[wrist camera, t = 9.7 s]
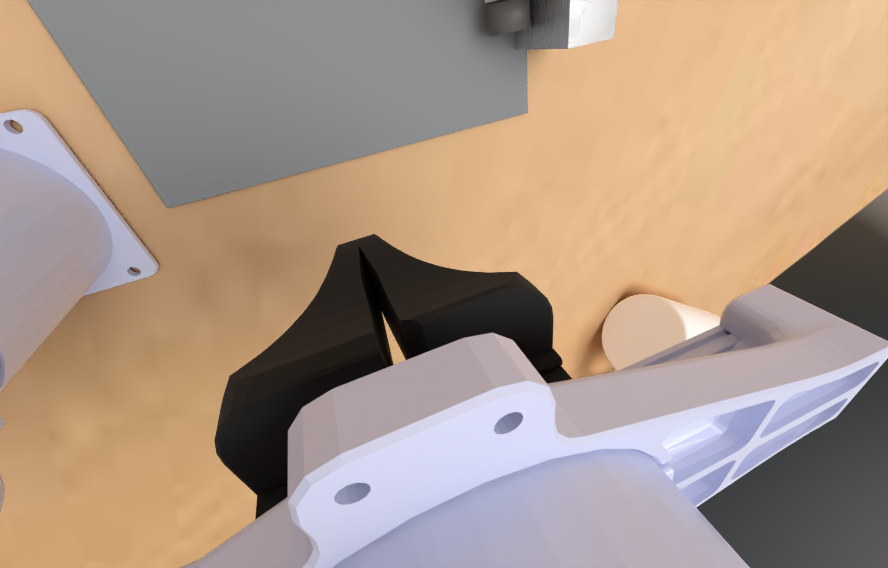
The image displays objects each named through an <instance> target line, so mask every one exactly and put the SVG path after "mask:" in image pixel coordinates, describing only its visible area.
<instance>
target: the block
mask: <svg viewBox="0 0 888 568" xmlns="http://www.w3.org/2000/svg"><path fill="white" fill-rule="evenodd" d="M493 1H497V0H485V3H489V2H493ZM487 16H488V28H489V36H496V35H502V34H507V33H512V32H516V31H520V30H524V29H528V28H530V27H531V20H530V0H508V1H503V2H499V3H495V4H491V5H487Z"/></svg>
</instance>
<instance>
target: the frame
mask: <svg viewBox="0 0 888 568" xmlns="http://www.w3.org/2000/svg"><path fill="white" fill-rule="evenodd" d="M617 4H618V0H530V20H531V27H530V28H528V29H524V30H520V31H516V32H515V50H520V49H569V48H573V47H577V46H582V45H586V44H590V43H595V42H599V41H603V40H608V39H612V38H614V33H615V23H616V14H617Z"/></svg>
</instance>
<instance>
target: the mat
mask: <svg viewBox="0 0 888 568" xmlns="http://www.w3.org/2000/svg"><path fill="white" fill-rule="evenodd" d="M27 1H28V2H29V4H30V5H31V7H32V8H33V10H34V11H35V13H36V14H37V16H38V17H39V19H40V20H41V21H42V23H43V24H44V26H45V27H46V29H47V30H48V32H49V33H50V35H51V36H52V38H53V39H54V41H55V42H56V44H57V45H58V47H59V48H60V50H61V51H62V53H63V54H64V56H65V57H66V58H67V60H68V61H69V63H70V64H71V66H72V67H73V69H74V70H75V72H76V73H77V75H78V76H79V78H80V79H81V81H82V82H83V84H84V85H85V87H86V88H87V90H88V91H89V93H90V94H91V95H92V97H93V98H94V100H95V101H96V103H97V104H98V106H99V107H100V109H101V110H102V112H103V113H104V115H105V116H106V118H107V119H108V121H109V122H110V124H111V125H112V127H113V128H114V130H115V131H116V133H117V134H118V135H119V137H120V138H121V140H122V141H123V143H124V144H125V146H126V147H127V149H128V150H129V152H130V153H131V155H132V156H133V158H134V159H135V161H136V162H137V164H138V165H139V167H140V168H141V170H142V171H143V172H144V174H145V175H146V177H147V178H148V180H149V181H150V183H151V184H152V186H153V187H154V189H155V190H156V192H157V193H158V195H159V196H160V198H161V199H162V201H163V202H164V204H165V205H166V207H167V208H172V207H175V206H179V205H183V204H187V203H190V202H194V201H198V200H202V199H205V198H209V197H213V196H217V195H220V194H224V193H228V192H232V191H235V190H239V189H243V188H247V187H251V186H254V185H258V184H262V183H266V182H269V181H273V180H277V179H281V178H284V177H288V176H292V175H296V174H299V173H303V172H307V171H311V170H314V169H318V168H322V167H326V166H329V165H333V164H337V163H341V162H344V161H348V160H352V159H356V158H359V157H363V156H367V155H371V154H374V153H378V152H382V151H386V150H389V149H393V148H397V147H401V146H404V145H408V144H412V143H416V142H419V141H423V140H427V139H431V138H434V137H438V136H442V135H446V134H449V133H453V132H457V131H461V130H464V129H468V128H472V127H476V126H479V125H483V124H487V123H491V122H494V121H498V120H502V119H506V118H510V117H513V116H517V115H521V114H525V113H528V102H527V49H520V50H515V32H512V33H507V34H502V35H496V36H489V28H488V16H487V5H491V4H495V3H499V2H503V1H508V0H497V1H493V2H489V3H485V0H27Z"/></svg>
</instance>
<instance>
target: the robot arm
mask: <svg viewBox="0 0 888 568" xmlns="http://www.w3.org/2000/svg"><path fill="white" fill-rule="evenodd" d="M10 120H14V121H16V122H18V123H19V124H20V125H21V126H22V128H23V132H19V131H16V130H15V129H14V128H12V127H11V125H10ZM130 267H135V268H138V269H139V270H140V272H133V271H132V270H131V269H130ZM158 269H159V265H158V263H157V261H156V260H155V259H154V258H153V256H152V255H151V254H150V252H149V251H148V250H147V248H146V247H145V246H144V245H143V243H142V242H141V241H140V239H139V238H138V237H137V235H136V234H135V233H134V232H133V230H132V229H131V228H130V226H129V225H128V224H127V223H126V221H125V220H124V219H123V217H122V216H121V215H120V213H119V212H118V211H117V210H116V208H115V207H114V206H113V204H112V203H111V202H110V200H109V199H108V198H107V197H106V195H105V194H104V193H103V191H102V190H101V189H100V187H99V186H98V185H97V184H96V182H95V181H94V180H93V178H92V177H91V176H90V174H89V173H88V172H87V171H86V169H85V168H84V167H83V165H82V164H81V163H80V162H79V160H78V159H77V158H76V156H75V155H74V154H73V152H72V151H71V150H70V149H69V147H68V146H67V145H66V143H65V142H64V141H63V139H62V138H61V137H60V136H59V134H58V133H57V132H56V130H55V129H54V128H53V126H52V125H51V124H50V123H49V121H48V120H47V119H46V118H45V117H44V116H43V115H42V114H40V113H38V112H37V111H34V110H30V109H20V110H15V111H10V112H5V113H0V392H1V391H2V390H3V389H4V387H5V386H6V385H7V384H8V383H9V382H10V380H11V379H12V378H13V377H14V376H15V375H16V373H17V372H18V371H19V370H20V369H21V368H22V366H23V365H24V364H25V363H26V362H27V361H28V359H29V358H30V357H31V356H32V355H33V354H34V352H35V351H36V350H37V349H38V348H39V346H40V345H41V344H42V343H43V342H44V341H45V339H46V338H47V337H48V336H49V335H50V334H51V332H52V331H53V330H54V329H55V328H56V327H57V325H58V324H59V323H60V322H61V321H62V320H63V318H64V317H65V316H66V315H67V314H68V313H69V311H70V310H71V309H72V308H73V307H74V306H75V304H76V303H77V302H78V301H79V300H80V298H81V297H82V296H86V295H89V294H93V293H96V292H99V291H103V290H106V289H109V288H113V287H116V286H119V285H123V284H126V283H129V282H133V281H136V280H140V279H143V278H146V277H150V276H152V275H154V274H155V273H156V272H157V270H158ZM382 313H383V315H384V317H385V319H386V321H387V323H388V325H389V327H390V329H391V331H392V333H393V335H394V337H395V339H396V341H397V343H398V345H399V347H400V349H401V351H402V353H403V355H404V357H405V359H406V360H405V361H403V362H400V363H398V364H395V365H393V361H392V357H391V352H390V347H389V343H388V338H387V334H386V329H385V325H384V320H383V316H382ZM552 345H553V311H552V306H551V305H550V303H549V301H548V299H547V298H546V297H545V296H544V295H543V294H542V293H541V292H540V291H539V290H538V289H537V288H536V287H535V286H534V285H533V284H532V283H530V282H529V281H528V280H527V279H525V278H524V277H523V276H521V275H520V274H519V273H518V272H495V273H485V272H470V271H461V270H455V269H450V268H445V267H440V266H437V265H433V264H430V263H427V262H424V261H421V260H418V259H416V258H414V257H411V256H409V255H407V254H405V253H403V252H402V251H400V250H398V249H396V248H395V247H393V246H391V245H390V244H388V243H387V242H385V241H384V240H383V239H381V238H380V237H379V236H377V235H375V234H373V235H370V236H366V237H363V238H360V239H357V240H353V241H350V242H347V243H344V244H341V245H338V247H337V248H336V251H335V255H334V258H333V261H332V263H331V266H330V268H329V271H328V273H327V275H326V278H325V280H324V282H323V284H322V285H321V287H320V289H319V291H318V293H317V295H316V296H315V298H314V299H313V301H312V302H311V303H310V305H309V306H308V307H307V309H306V310H305V311H304V312H303V314H302V315H301V316H300V317H299V318H298V319H297V320H296V321H295V322H294V324H293V325H292V326H291V327H290V328H289V329H288V330H287V331H286V332H285V333H284V334H283V335H282V336H281V337H280V338H279V339H277V340H276V341H275V342H274V343H273V344H272V345H271V346H269V347H268V348H267V349H266V350H265V351H263V352H262V353H261V354H260V355H258V356H257V357H255V358H254V359H253V360H251V361H250V362H249V363H247V364H246V365H245V366H243V367H242V368H240V369H239V370H238V371H236V372H235V373H233V374H232V375H230V376H229V380H228V383H227V386H226V390H225V393H224V396H223V401H222V405H221V410H220V415H219V420H218V426H217V431H216V436H215V447H216V453H217V455H218V456H219V458H220V459H221V461H222V462H223V463H224V465H225V466H226V467H227V468H229V469H230V470H231V471H232V472H233V473H234V474H235V475H236V476H237V477H238V478H239V479H240V480H241V481H242V482H244V483H245V484H246V485H247V486H248V487H249V488H250V489H251V490H252V491H253V492H254V493H255V494H256V495H257V508H256V520H254V521H253V522H251V523H250V524H249V525H247V526H246V527H244V528H243V529H241V530H240V531H239V532H237V533H236V534H234V535H233V536H231V537H230V538H229V539H227V540H226V541H224V542H223V543H221V544H220V545H219V546H217V547H216V548H214V549H213V550H211V551H210V552H209V553H207V554H206V555H204V556H203V557H202V558H200V559H198V560H196V561H194V562H192V563H189V564H187V565H185V566H183V567H180V568H749V567H748V565H747V564H746V563H745V562H744V561H743V560H742V559H741V558H740V556H739V555H738V554H737V553H736V552H735V551H734V550H733V549H732V547H731V546H730V545H729V544H728V543H727V542H726V541H725V540H724V539H723V538H722V536H721V535H720V534H719V533H718V532H717V531H716V530H715V529H714V527H713V526H712V525H711V524H710V523H709V522H708V521H707V520H706V518H705V517H704V516H703V515H702V514H701V513H700V512H699V511H698V509H697V508H696V507H697V506H699V505H700V504H701V503H703V502H705V501H706V500H708V499H709V498H711V497H712V496H713V495H715V494H716V493H718V492H719V491H721V490H722V489H724V488H725V487H727V486H728V485H730V484H731V483H733V482H734V481H736V480H737V479H738V478H740V477H741V476H743V475H744V474H746V473H747V472H749V471H750V470H752V469H753V468H755V467H756V466H758V465H759V464H761V463H762V462H764V461H765V460H767V459H768V458H770V457H771V456H773V455H774V454H776V453H778V452H779V451H780V450H782V449H784V448H785V447H787V446H789V445H790V444H792V443H793V442H795V441H797V440H798V439H800V438H801V437H803V436H805V435H806V434H808V433H809V432H811V431H813V430H815V429H817V428H818V427H820V426H822V425H823V424H825V423H827V422H828V421H830V420H832V419H834V418H835V417H836V416H837V415H838V414H839V413H840V412H841V411H842V410H843V409H844V407H845V406H846V405H847V404H848V403H849V402H850V401H851V399H852V398H853V397H854V396H855V395H856V394H857V393H858V391H859V390H860V389H861V388H862V387H863V386H864V385H865V383H866V382H867V381H868V380H869V379H870V378H871V376H872V375H873V374H874V373H875V372H876V371H877V370H878V368H879V367H880V366H881V365H882V364H883V363H884V361H885V360H886V359H887V358H888V341H886V340H884V339H882V338H880V337H878V336H876V335H874V334H872V333H870V332H868V331H866V330H863V329H861V328H859V327H857V326H855V325H853V324H851V323H849V322H847V321H845V320H843V319H841V318H839V317H836V316H834V315H832V314H830V313H828V312H826V311H824V310H822V309H820V308H818V307H816V306H814V305H811V304H809V303H807V302H805V301H803V300H801V299H799V298H797V297H795V296H793V295H791V294H789V293H787V292H784V291H782V290H780V289H778V288H776V287H774V286H772V285H770V284H769V285H764V286H762V287H759V288H757V289H755V290H753V291H750V292H748V293H746V294H743V295H741V296H739V297H737V298H735V299H734V300H732V301H731V302H730V303H729V304H728V305H727V306H726V308H725V309H724V311H723V313H722V315H721V319H720V325H719V326H716V327H714V328H712V329H710V330H707V331H705V332H703V333H701V334H699V335H696V336H694V337H692V338H690V339H687V340H685V341H683V342H681V343H679V344H676V345H674V346H672V347H670V348H667V349H665V350H663V351H661V352H659V353H656V354H654V355H652V356H650V357H647V358H645V359H643V360H641V361H639V362H636V363H634V364H632V365H630V366H627V367H625V368H623V369H621V370H619V371H616V372H611V373H605V374H599V375H594V376H588V377H582V378H577V379H572V378H571V377H570V376H569V375H568V374H567V372H566V371H565V370H564V369H563V368H562V367H561V365H562V359H561V357H560V356H559V355H558V354H557V352H556V351H555V350H554V349H553V348H552ZM4 424H5V422H4V420H3V419H2V418H1V417H0V429H1V428H2V427H3V425H4ZM4 492H5V485H4V482H3V480H2V477H1V474H0V511H1V508H2V504H3V501H4Z"/></svg>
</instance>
